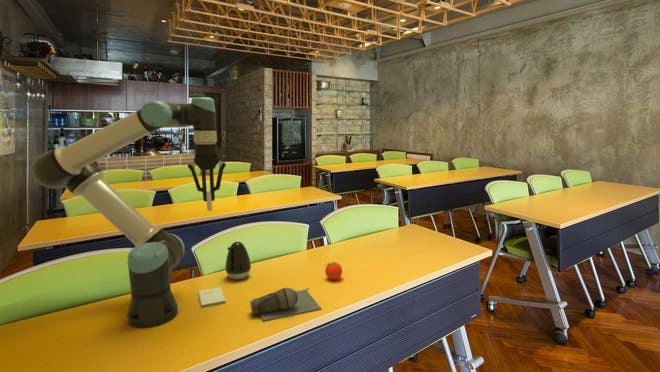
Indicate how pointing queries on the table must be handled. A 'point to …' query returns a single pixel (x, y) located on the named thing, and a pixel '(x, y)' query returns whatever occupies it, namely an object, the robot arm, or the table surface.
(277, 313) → the mat
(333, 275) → the clementine
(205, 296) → the external hard drive
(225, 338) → the table surface
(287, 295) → the beverage cup
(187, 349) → the table surface
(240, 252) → the black tapered dome
